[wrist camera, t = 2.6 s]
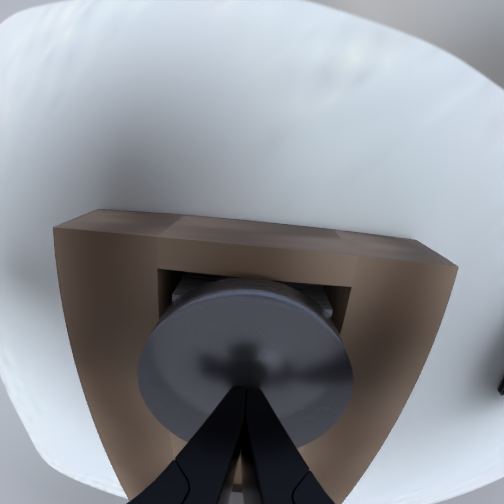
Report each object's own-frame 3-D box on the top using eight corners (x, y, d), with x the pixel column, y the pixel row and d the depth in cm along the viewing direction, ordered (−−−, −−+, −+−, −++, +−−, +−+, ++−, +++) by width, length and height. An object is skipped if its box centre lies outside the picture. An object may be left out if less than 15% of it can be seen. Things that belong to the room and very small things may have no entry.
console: (416, 240, 12) (458, 266, 9) (320, 488, 18) (325, 522, 15) (98, 209, 12) (52, 227, 9) (142, 471, 18) (131, 505, 15)
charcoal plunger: (335, 250, 12) (380, 310, 7) (308, 375, 14) (324, 458, 9) (177, 235, 12) (126, 286, 7) (178, 362, 14) (149, 442, 9)
